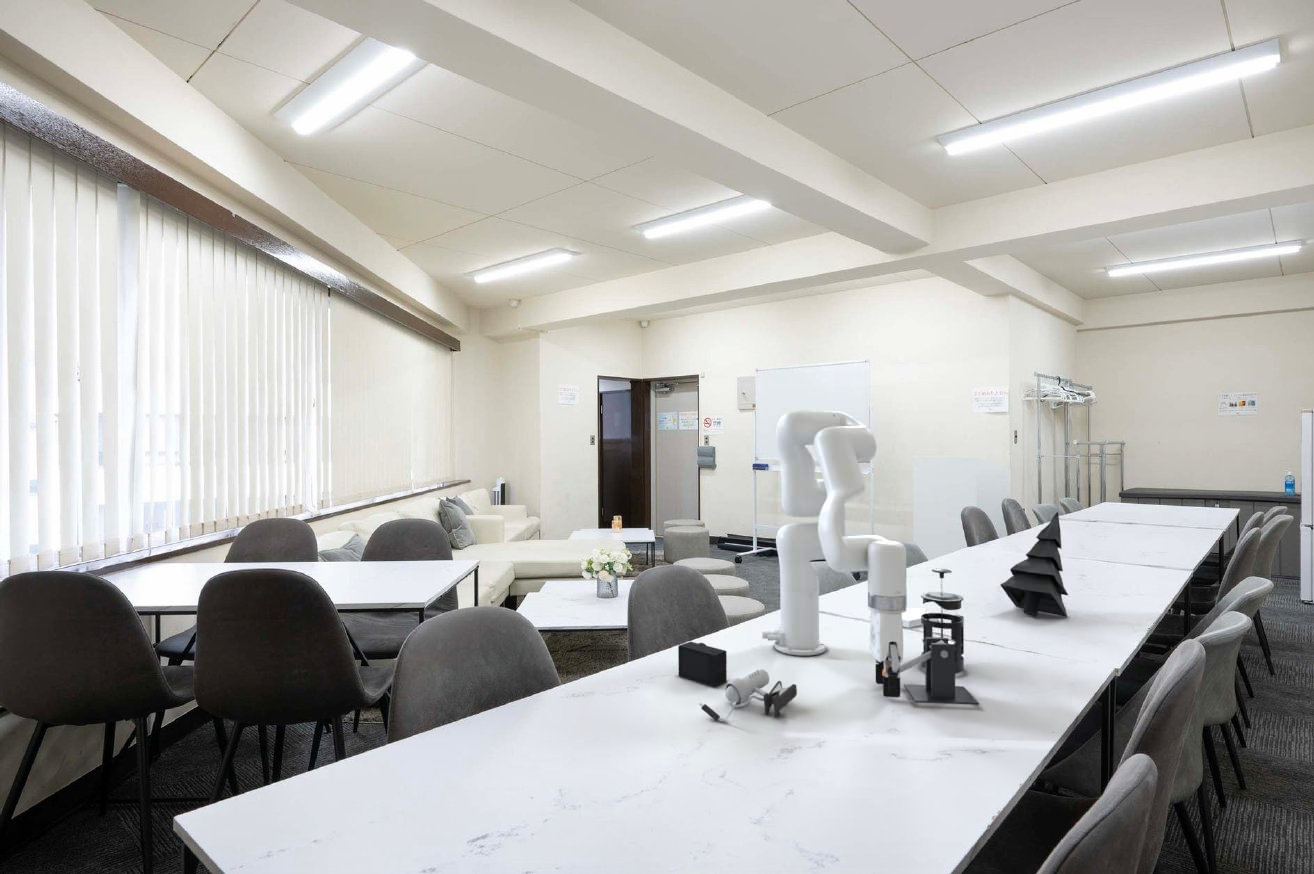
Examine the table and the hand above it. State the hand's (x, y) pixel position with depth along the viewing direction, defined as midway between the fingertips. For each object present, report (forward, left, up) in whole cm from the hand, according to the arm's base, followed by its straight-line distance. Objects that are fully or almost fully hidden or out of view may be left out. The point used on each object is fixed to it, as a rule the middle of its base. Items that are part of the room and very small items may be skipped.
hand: (887, 689), depth 139 cm
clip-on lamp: (-29, -10, -2) cm, 30 cm away
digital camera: (-38, +7, -2) cm, 38 cm away
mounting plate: (+18, +62, -2) cm, 65 cm away
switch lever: (+6, 0, +4) cm, 7 cm away
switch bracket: (+10, 0, -2) cm, 10 cm away
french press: (+16, +18, -2) cm, 24 cm away
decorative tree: (+61, +74, -2) cm, 96 cm away
